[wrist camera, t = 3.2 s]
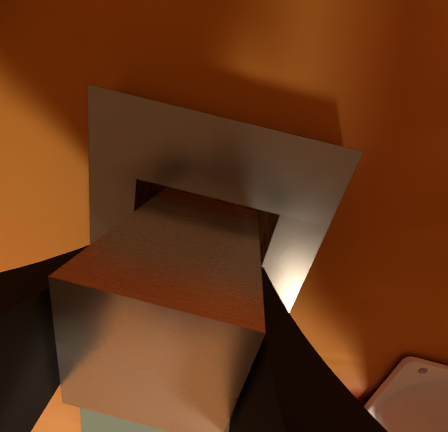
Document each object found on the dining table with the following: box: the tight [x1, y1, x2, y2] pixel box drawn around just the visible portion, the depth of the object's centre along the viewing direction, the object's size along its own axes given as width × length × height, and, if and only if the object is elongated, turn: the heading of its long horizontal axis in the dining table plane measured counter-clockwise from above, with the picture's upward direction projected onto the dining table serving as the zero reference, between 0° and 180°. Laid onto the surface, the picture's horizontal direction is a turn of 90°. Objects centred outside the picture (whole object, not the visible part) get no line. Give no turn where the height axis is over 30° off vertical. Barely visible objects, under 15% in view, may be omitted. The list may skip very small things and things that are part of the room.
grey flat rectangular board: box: [87, 84, 363, 432], centre depth 13 cm, size 10×20×2 cm, turn 167°
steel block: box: [48, 188, 266, 432], centre depth 9 cm, size 5×5×7 cm
